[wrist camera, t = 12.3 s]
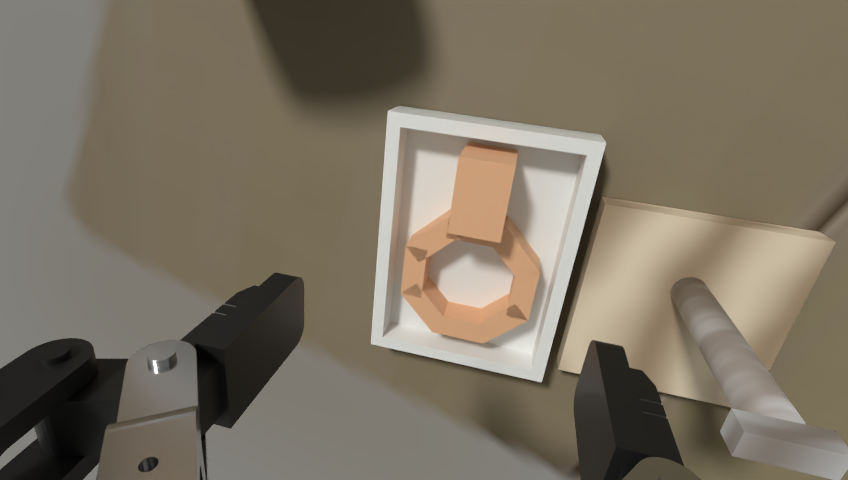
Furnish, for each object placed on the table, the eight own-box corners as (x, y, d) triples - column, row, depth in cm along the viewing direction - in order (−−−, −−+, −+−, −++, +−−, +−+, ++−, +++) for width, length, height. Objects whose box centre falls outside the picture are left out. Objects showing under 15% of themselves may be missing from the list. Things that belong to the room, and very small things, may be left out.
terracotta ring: (564, 157, 27) (569, 174, 23) (521, 334, 32) (519, 371, 29) (424, 134, 28) (408, 147, 25) (404, 309, 33) (388, 341, 30)
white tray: (600, 134, 27) (606, 142, 24) (541, 359, 33) (541, 382, 31) (399, 105, 28) (387, 110, 26) (381, 324, 35) (370, 343, 33)
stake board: (820, 232, 26) (1074, 399, 14) (738, 395, 31) (873, 626, 19) (601, 196, 28) (655, 316, 16) (557, 356, 33) (571, 543, 21)
